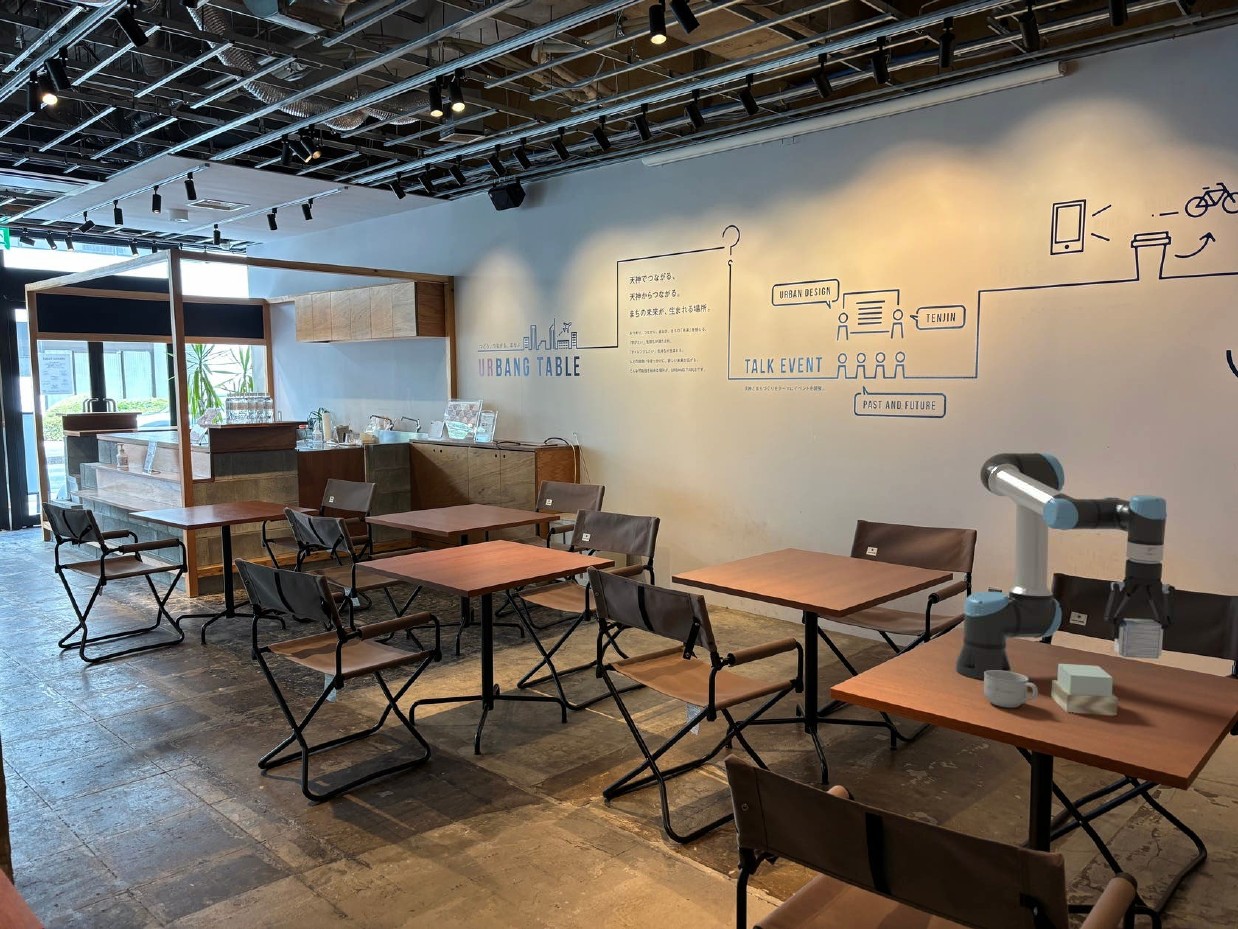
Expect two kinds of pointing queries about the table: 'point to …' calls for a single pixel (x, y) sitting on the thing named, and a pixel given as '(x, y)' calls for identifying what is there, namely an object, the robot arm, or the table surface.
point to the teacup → (1007, 688)
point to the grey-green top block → (1085, 680)
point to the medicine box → (1141, 638)
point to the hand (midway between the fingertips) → (1137, 652)
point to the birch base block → (1083, 702)
